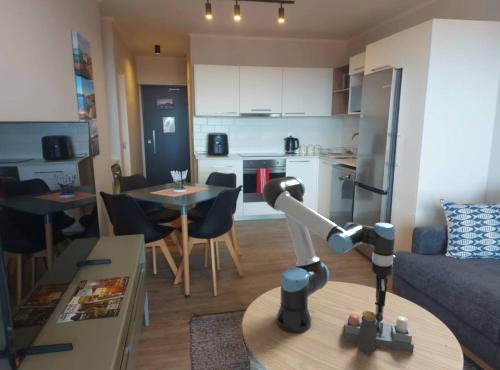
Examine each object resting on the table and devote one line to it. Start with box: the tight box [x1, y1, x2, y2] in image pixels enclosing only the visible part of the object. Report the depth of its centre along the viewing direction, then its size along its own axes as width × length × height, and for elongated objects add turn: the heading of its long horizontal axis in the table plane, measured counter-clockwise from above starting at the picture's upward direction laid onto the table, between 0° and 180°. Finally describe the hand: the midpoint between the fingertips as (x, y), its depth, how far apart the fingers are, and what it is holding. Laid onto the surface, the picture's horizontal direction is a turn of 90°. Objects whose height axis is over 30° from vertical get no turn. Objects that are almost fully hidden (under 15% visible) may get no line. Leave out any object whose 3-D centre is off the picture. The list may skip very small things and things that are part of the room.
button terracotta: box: [348, 313, 360, 327], centre depth 136 cm, size 4×4×5 cm
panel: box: [344, 317, 415, 352], centre depth 136 cm, size 25×12×7 cm, turn 75°
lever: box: [375, 313, 384, 330], centre depth 133 cm, size 3×3×12 cm
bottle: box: [358, 310, 376, 355], centre depth 128 cm, size 6×6×15 cm
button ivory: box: [395, 315, 409, 334], centre depth 131 cm, size 4×4×5 cm
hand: (378, 318), depth 133 cm, fingers closed
